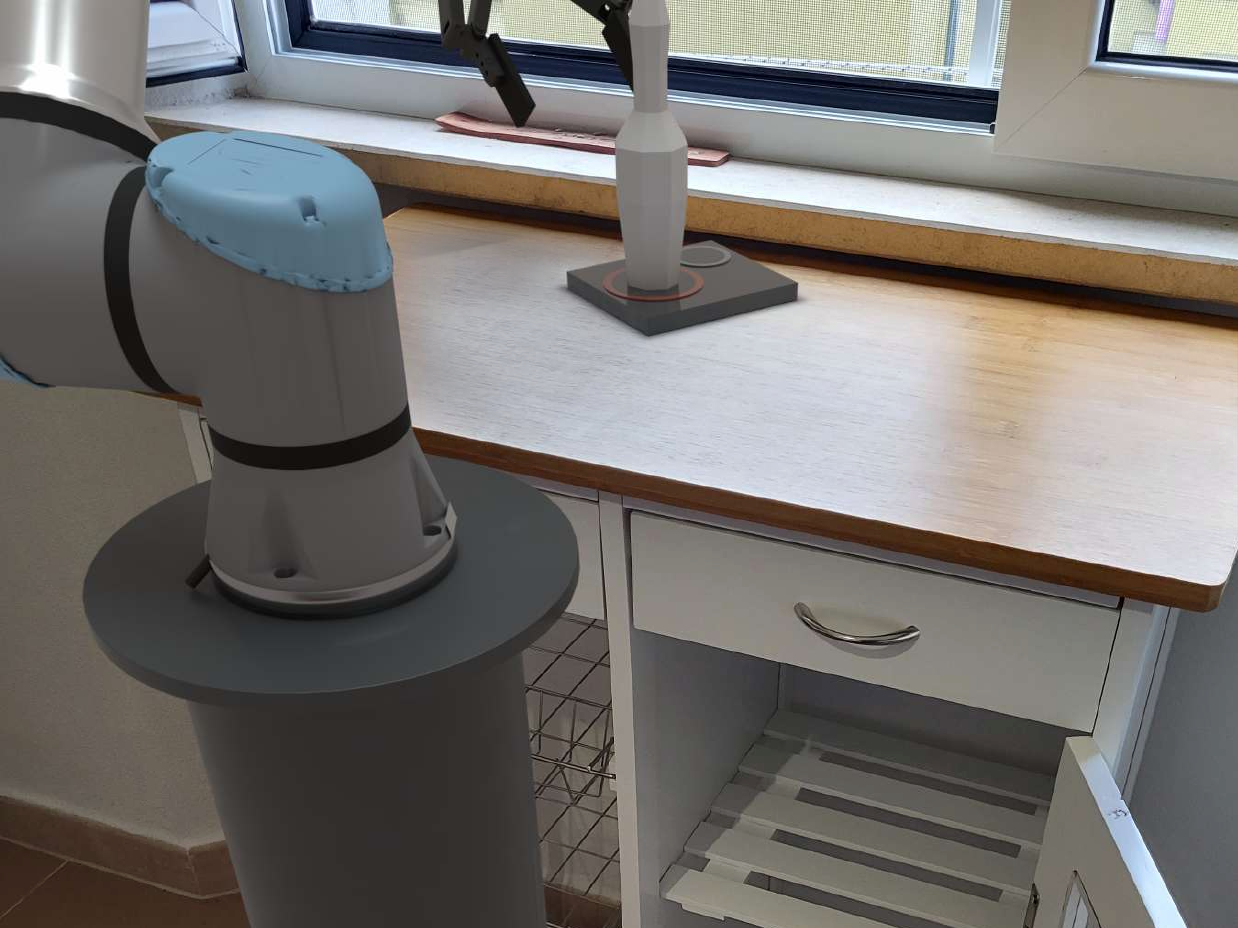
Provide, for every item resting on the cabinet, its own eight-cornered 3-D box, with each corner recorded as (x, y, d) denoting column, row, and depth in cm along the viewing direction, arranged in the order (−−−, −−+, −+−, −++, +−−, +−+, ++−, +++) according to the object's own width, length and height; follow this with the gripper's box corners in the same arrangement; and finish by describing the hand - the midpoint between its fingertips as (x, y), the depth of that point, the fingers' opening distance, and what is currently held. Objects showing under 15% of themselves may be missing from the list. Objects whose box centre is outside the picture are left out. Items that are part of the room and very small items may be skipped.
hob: (648, 336, 121) (647, 316, 120) (567, 288, 130) (566, 269, 129) (797, 299, 128) (798, 281, 127) (711, 256, 137) (711, 238, 135)
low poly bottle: (678, 296, 124) (678, 2, 109) (609, 290, 125) (599, -2, 110) (695, 272, 128) (697, -14, 114) (628, 266, 130) (621, -17, 115)
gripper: (561, -109, 130) (673, 106, 132) (328, -79, 117) (456, 158, 119) (596, -177, 123) (713, 50, 125) (353, -153, 111) (488, 99, 113)
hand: (588, 103), depth 122 cm, fingers open, 13 cm apart
